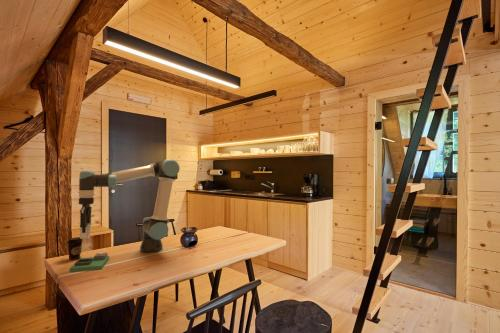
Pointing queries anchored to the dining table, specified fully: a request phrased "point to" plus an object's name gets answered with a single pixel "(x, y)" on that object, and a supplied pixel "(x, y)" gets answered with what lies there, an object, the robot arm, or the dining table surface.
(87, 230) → the plug
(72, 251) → the coffee cup
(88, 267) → the board
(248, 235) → the dining table surface
